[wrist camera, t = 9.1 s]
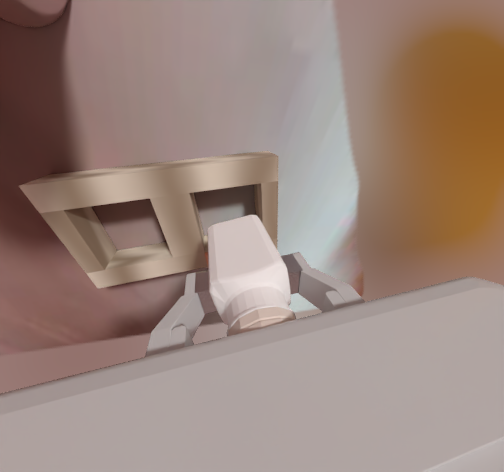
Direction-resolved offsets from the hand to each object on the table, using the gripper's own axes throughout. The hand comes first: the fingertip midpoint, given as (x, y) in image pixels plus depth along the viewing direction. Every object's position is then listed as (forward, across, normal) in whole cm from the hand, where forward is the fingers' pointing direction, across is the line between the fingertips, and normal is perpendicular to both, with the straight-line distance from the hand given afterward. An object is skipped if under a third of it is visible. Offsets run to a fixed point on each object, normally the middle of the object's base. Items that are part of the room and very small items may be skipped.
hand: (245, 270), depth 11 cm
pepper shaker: (+4, 0, 0) cm, 4 cm away
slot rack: (+10, +5, 0) cm, 11 cm away
